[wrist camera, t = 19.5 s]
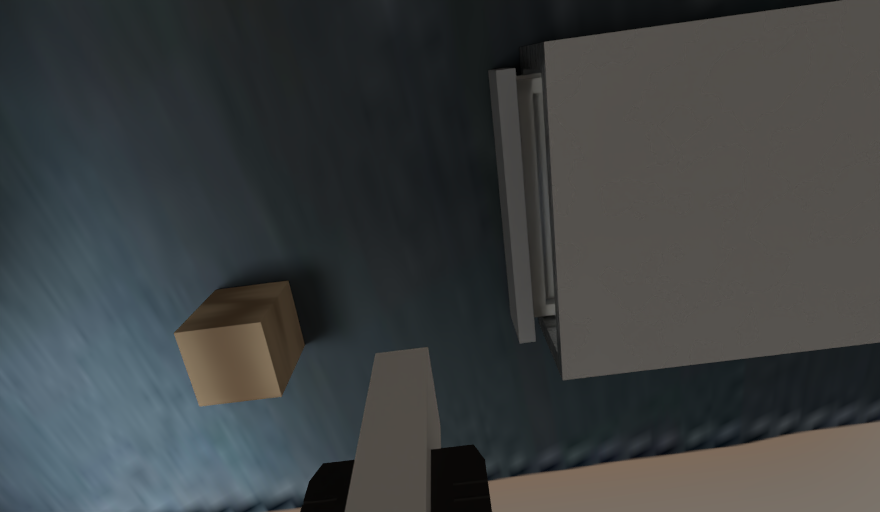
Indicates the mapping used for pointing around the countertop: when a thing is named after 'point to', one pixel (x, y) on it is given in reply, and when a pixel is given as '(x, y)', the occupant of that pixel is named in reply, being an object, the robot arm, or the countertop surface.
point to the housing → (713, 188)
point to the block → (242, 343)
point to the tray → (523, 195)
